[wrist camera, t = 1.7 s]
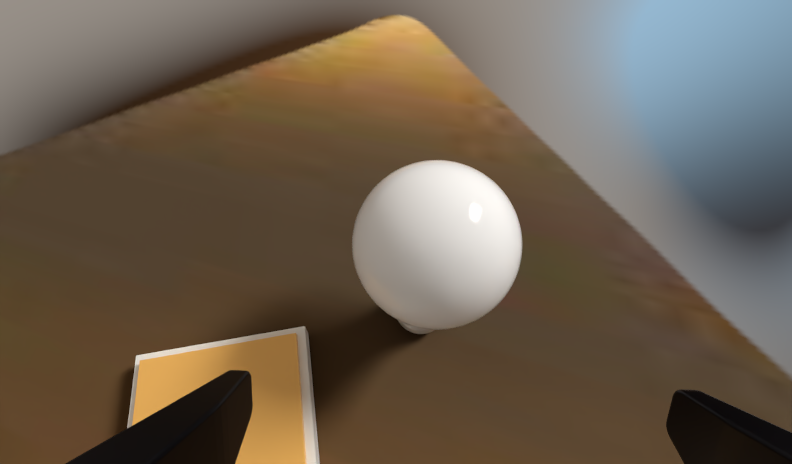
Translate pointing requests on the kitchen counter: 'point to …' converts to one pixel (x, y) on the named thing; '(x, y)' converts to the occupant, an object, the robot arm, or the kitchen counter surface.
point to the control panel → (271, 390)
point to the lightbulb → (436, 245)
